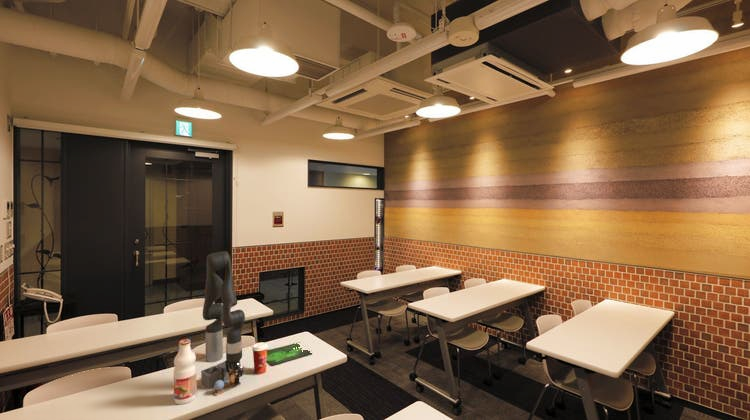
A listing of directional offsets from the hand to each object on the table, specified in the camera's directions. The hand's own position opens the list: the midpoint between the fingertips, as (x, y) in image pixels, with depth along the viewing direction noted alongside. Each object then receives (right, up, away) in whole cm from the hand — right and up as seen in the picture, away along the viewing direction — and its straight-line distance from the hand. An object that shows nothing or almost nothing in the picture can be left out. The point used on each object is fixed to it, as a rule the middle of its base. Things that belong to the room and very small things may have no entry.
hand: (234, 382), depth 166 cm
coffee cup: (+9, -1, +14) cm, 16 cm away
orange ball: (0, +2, 0) cm, 2 cm away
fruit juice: (-18, -2, -12) cm, 22 cm away
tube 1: (-12, -1, +2) cm, 13 cm away
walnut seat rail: (-2, -1, -3) cm, 4 cm away
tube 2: (-8, -1, +8) cm, 11 cm away
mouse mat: (+17, -1, +36) cm, 40 cm away
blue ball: (-5, +2, -7) cm, 8 cm away
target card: (-5, -1, +1) cm, 6 cm away
